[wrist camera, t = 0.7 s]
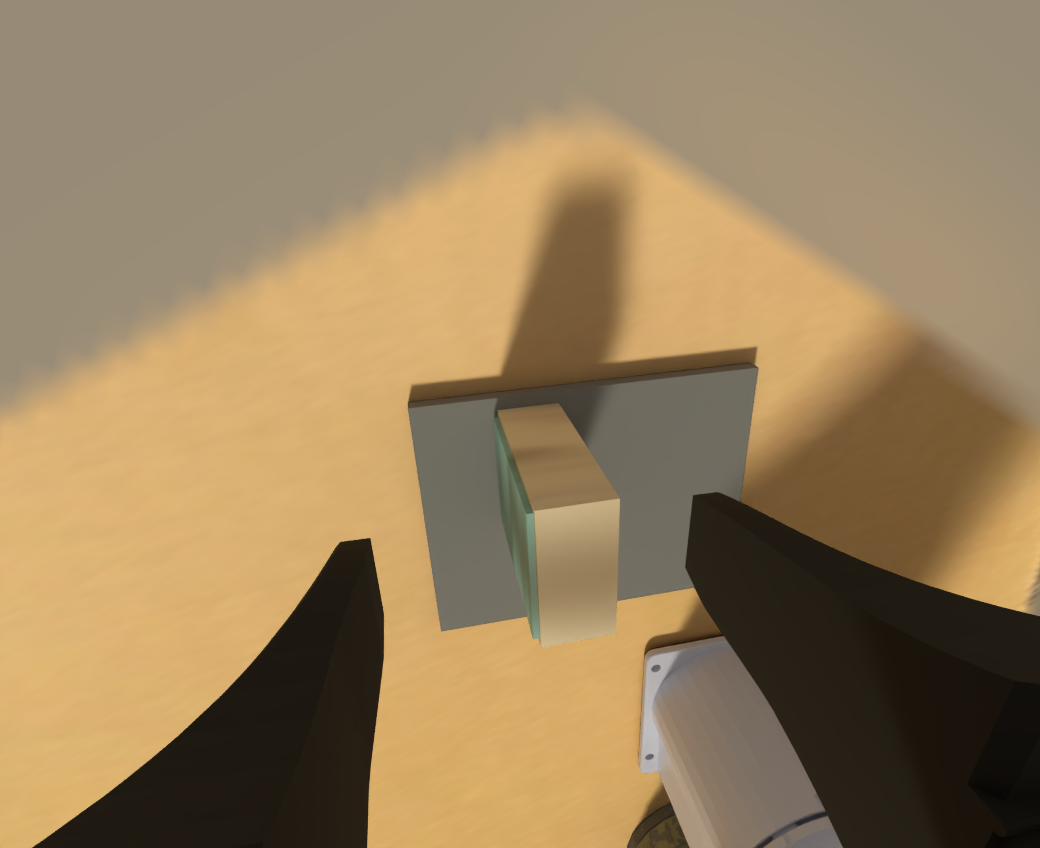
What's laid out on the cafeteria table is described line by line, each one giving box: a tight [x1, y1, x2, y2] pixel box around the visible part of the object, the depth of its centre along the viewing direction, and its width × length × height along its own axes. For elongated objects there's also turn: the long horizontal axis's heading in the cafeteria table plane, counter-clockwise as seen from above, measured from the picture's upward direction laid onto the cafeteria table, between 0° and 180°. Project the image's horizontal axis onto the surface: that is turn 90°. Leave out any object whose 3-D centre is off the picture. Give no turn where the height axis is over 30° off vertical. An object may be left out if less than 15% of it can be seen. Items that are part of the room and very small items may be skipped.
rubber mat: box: [408, 363, 758, 631], centre depth 24 cm, size 11×14×1 cm
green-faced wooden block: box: [493, 403, 620, 648], centre depth 19 cm, size 5×3×7 cm, turn 3°
